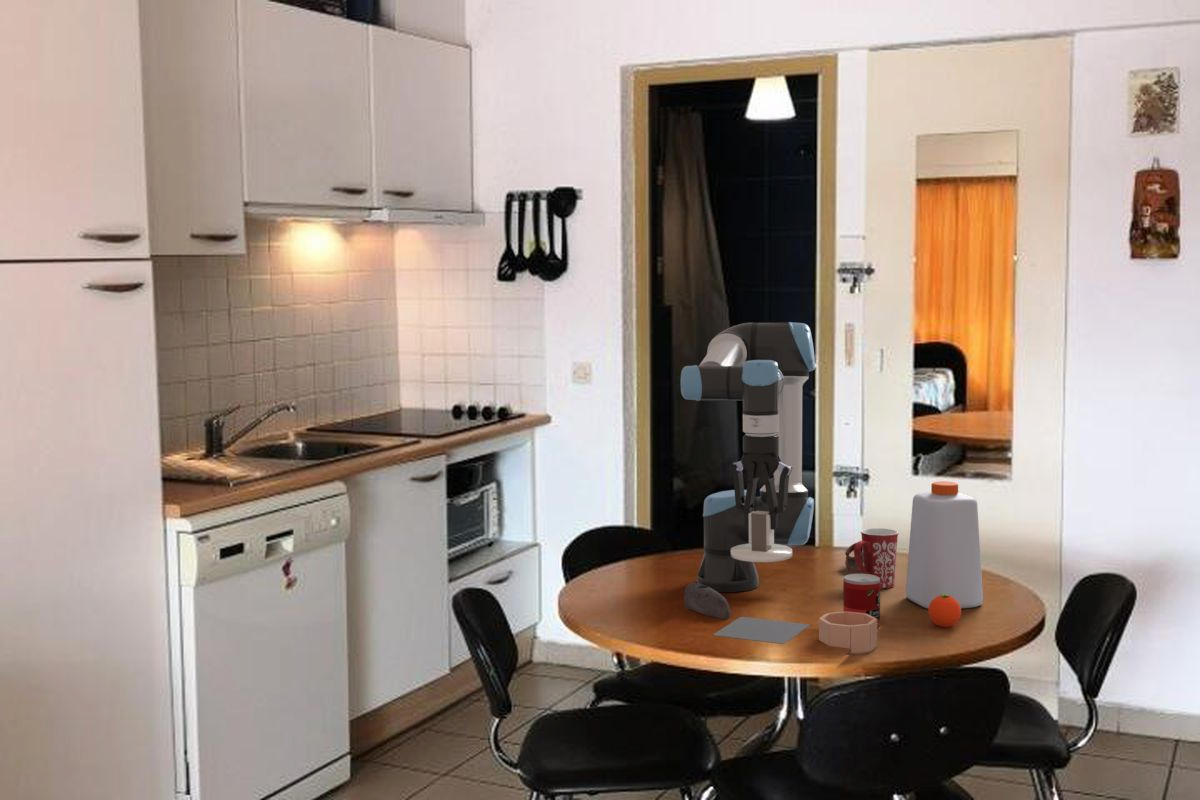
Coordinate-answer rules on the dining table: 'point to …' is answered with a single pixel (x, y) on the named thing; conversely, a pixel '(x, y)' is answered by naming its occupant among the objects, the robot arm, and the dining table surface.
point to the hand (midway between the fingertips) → (761, 543)
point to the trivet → (761, 630)
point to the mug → (878, 554)
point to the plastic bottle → (944, 547)
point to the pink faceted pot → (849, 631)
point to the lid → (760, 544)
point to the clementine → (944, 610)
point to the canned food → (862, 594)
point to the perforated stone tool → (706, 601)
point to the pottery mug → (851, 560)
